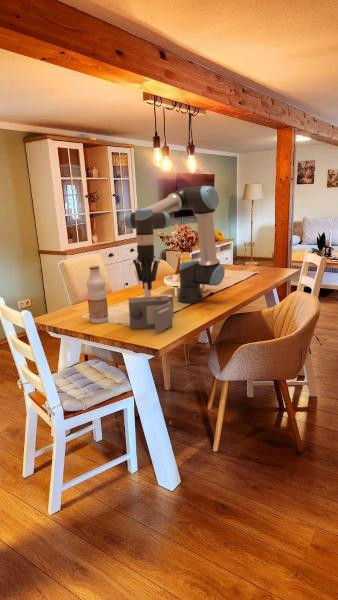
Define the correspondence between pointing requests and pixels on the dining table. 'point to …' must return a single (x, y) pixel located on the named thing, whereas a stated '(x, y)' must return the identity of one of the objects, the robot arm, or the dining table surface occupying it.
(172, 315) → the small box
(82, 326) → the dining table surface
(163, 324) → the side door
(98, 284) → the fruit juice
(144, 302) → the camera block
